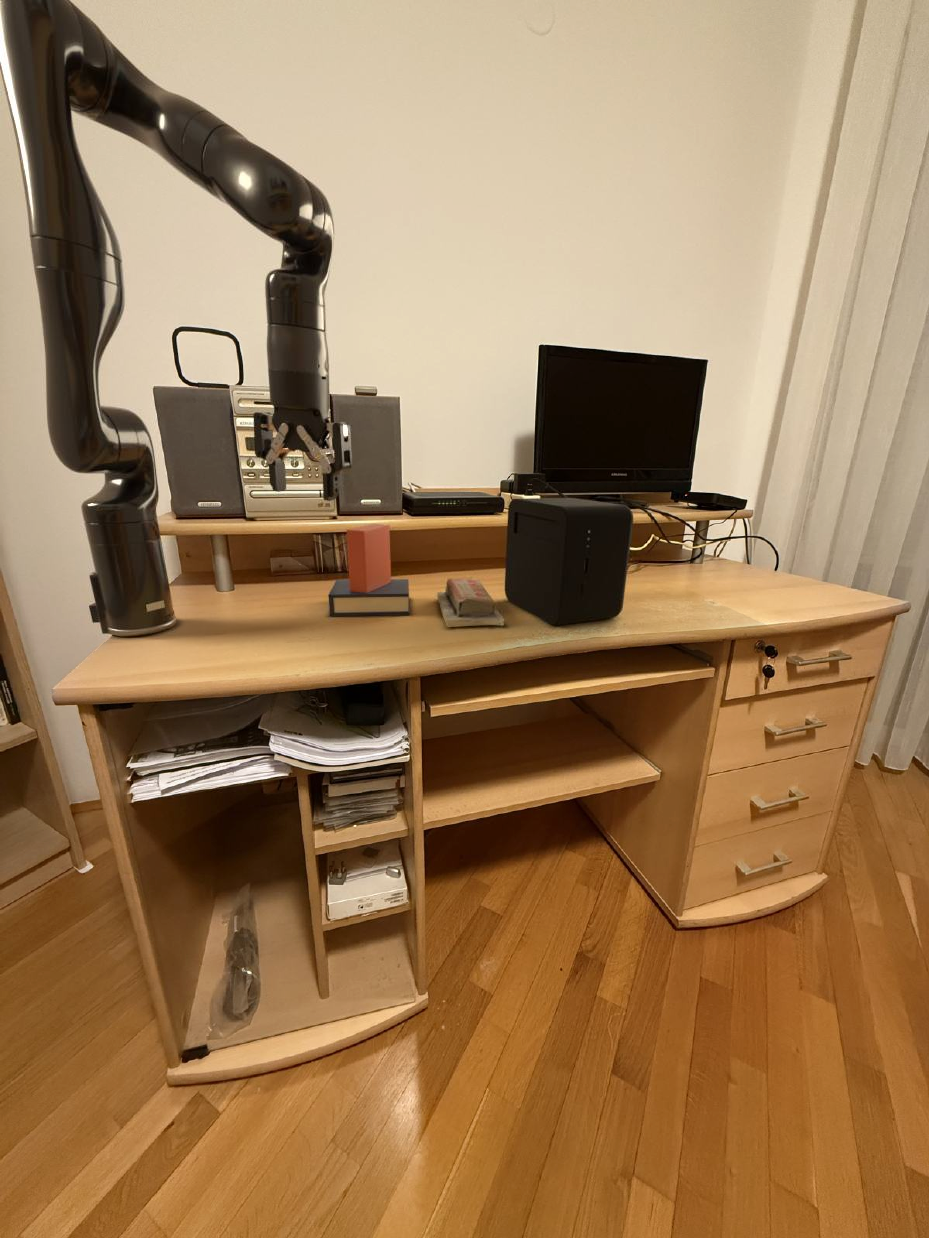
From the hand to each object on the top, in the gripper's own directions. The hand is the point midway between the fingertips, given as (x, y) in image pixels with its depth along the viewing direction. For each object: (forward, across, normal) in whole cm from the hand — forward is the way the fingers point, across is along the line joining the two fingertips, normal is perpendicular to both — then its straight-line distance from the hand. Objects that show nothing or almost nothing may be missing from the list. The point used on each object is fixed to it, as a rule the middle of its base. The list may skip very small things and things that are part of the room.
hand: (304, 495), depth 70 cm
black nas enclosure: (+20, +36, +28) cm, 50 cm away
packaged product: (+21, +20, +20) cm, 35 cm away
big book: (+23, +2, +16) cm, 28 cm away
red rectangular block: (+19, +2, +16) cm, 25 cm away
